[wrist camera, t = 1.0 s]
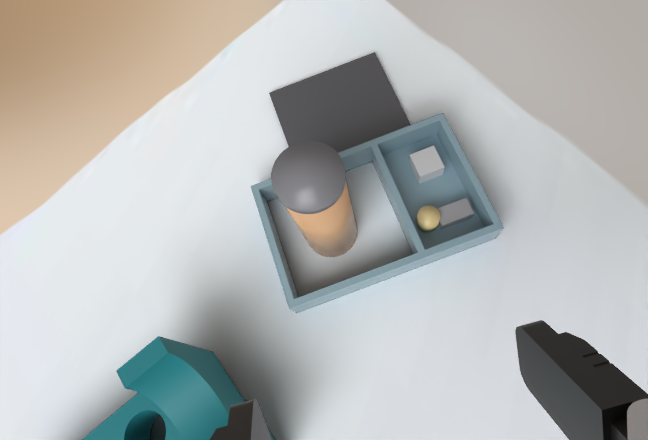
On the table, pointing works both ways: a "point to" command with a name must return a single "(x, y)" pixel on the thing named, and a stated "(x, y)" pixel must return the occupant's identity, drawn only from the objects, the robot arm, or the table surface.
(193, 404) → the teal notched block
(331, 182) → the brown canister
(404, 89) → the table surface
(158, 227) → the table surface
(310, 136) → the black mat
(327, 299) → the parts tub
